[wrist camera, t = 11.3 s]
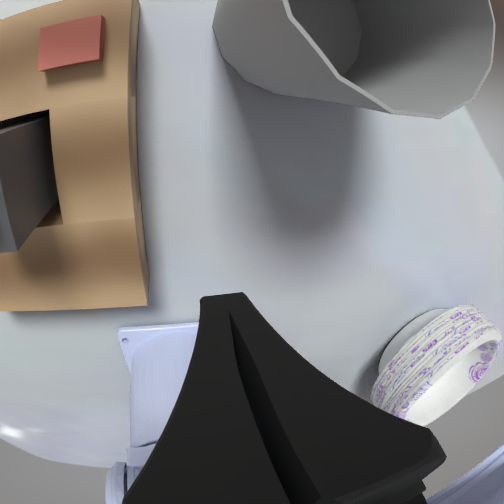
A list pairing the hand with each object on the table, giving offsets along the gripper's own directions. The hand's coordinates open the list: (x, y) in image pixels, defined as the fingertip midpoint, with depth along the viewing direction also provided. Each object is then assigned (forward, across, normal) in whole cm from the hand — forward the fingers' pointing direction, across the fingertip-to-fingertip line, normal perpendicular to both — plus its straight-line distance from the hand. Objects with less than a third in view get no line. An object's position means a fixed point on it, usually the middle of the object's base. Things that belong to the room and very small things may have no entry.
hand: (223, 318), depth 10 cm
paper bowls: (+9, -22, +17) cm, 30 cm away
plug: (+9, +9, -4) cm, 14 cm away
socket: (+9, +9, -4) cm, 14 cm away
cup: (+10, -5, -10) cm, 15 cm away
